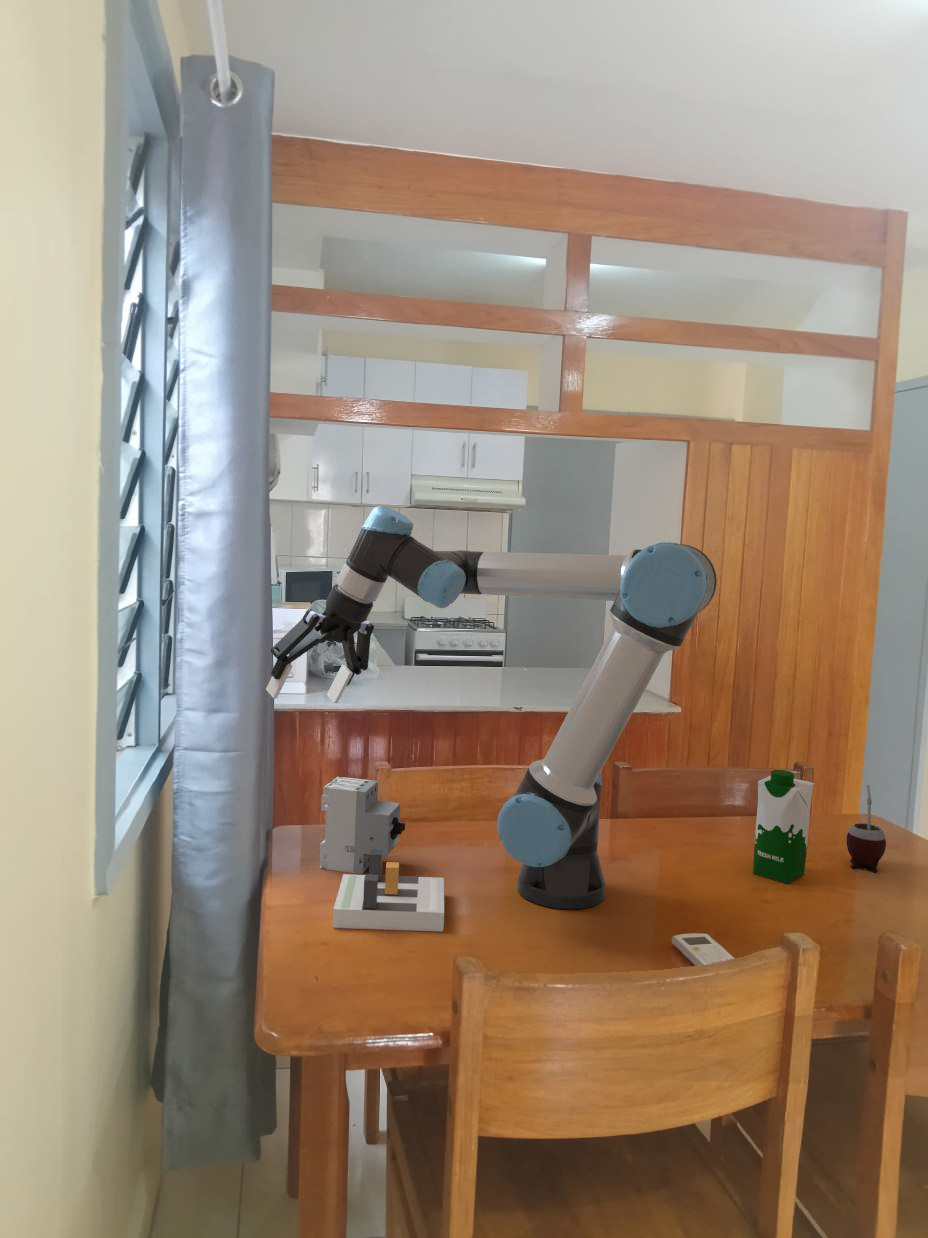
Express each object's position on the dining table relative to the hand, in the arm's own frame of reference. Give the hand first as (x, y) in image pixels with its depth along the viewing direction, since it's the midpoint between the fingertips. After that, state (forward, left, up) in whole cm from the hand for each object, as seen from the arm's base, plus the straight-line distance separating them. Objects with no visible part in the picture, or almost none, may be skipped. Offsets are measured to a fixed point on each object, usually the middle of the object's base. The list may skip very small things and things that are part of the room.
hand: (302, 696), depth 157 cm
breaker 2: (-15, +22, -28) cm, 38 cm away
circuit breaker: (-12, -3, -32) cm, 34 cm away
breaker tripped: (-18, +16, -28) cm, 37 cm away
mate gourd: (-109, -12, -32) cm, 114 cm away
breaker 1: (-15, +11, -28) cm, 33 cm away
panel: (-18, +16, -31) cm, 39 cm away
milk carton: (-90, -6, -32) cm, 95 cm away
